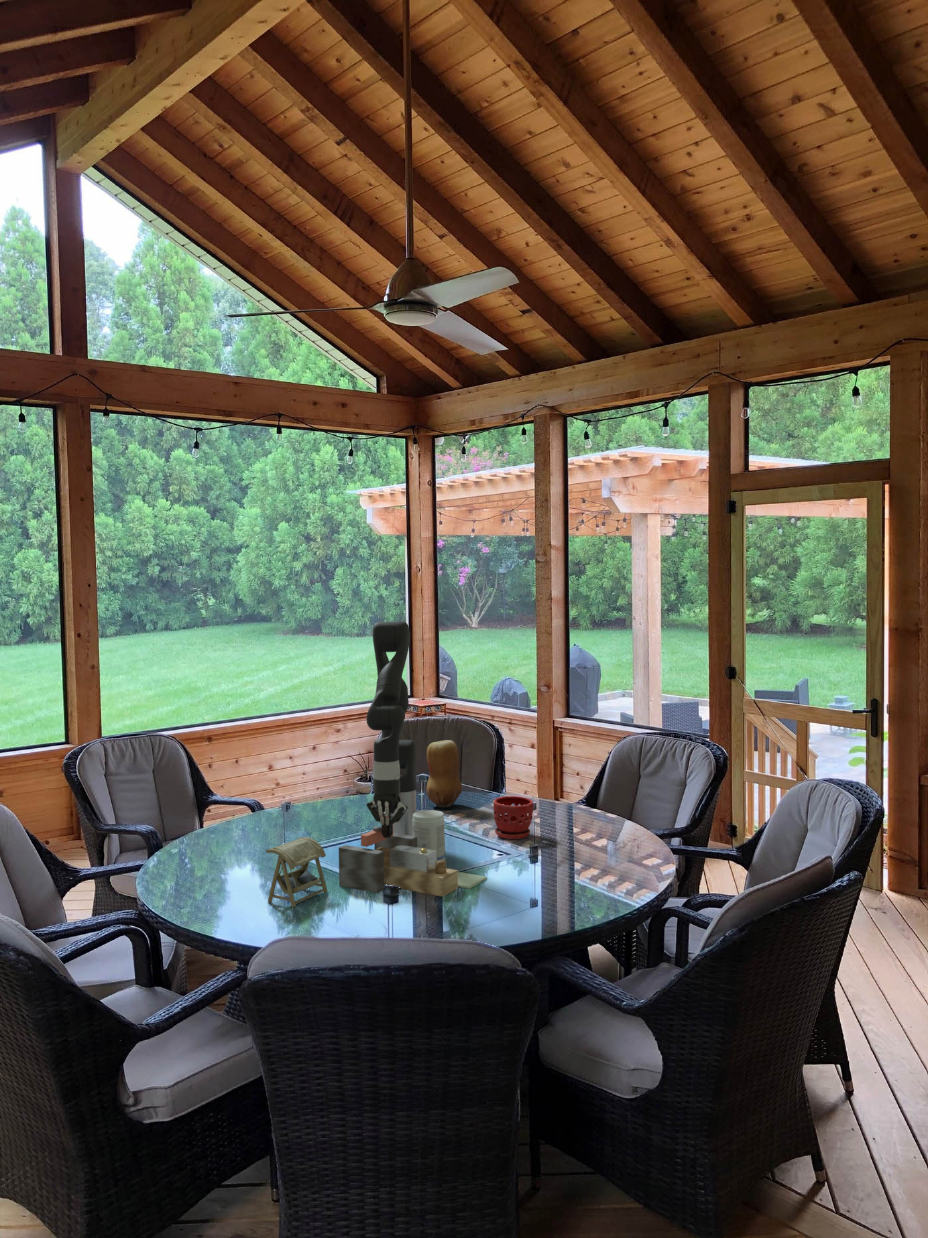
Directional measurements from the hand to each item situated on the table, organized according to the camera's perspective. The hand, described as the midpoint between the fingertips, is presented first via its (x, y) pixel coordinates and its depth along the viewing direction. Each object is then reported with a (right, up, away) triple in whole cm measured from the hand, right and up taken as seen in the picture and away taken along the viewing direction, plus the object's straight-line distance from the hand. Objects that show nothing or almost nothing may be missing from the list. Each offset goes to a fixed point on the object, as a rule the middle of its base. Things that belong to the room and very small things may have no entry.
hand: (387, 837), depth 269 cm
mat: (+21, -12, 0) cm, 24 cm away
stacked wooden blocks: (+5, -12, -3) cm, 14 cm away
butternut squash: (+14, -9, +88) cm, 89 cm away
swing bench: (-23, -13, -13) cm, 30 cm away
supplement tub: (+11, -12, +18) cm, 24 cm away
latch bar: (-3, -1, +2) cm, 4 cm away
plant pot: (+38, -11, +47) cm, 61 cm away
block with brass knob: (+7, -8, -4) cm, 11 cm away
